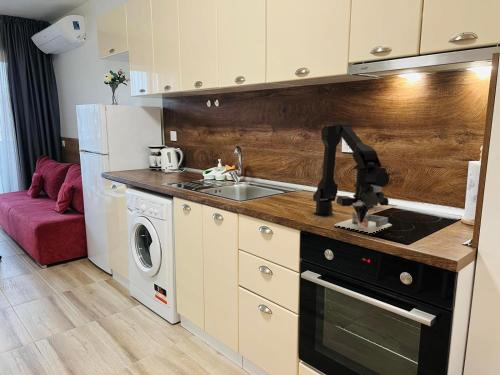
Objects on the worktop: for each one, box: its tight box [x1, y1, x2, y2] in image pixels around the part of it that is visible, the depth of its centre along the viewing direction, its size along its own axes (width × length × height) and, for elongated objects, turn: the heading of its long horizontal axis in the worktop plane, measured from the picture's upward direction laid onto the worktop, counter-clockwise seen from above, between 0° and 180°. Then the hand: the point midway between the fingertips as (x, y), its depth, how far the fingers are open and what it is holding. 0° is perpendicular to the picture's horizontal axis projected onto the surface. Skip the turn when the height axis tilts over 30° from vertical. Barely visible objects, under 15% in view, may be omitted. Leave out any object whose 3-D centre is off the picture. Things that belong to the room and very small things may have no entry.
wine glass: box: [368, 185, 383, 211], centre depth 177 cm, size 8×8×15 cm
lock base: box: [334, 213, 393, 234], centre depth 148 cm, size 16×17×3 cm
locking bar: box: [351, 211, 368, 228], centre depth 144 cm, size 12×2×4 cm, turn 7°
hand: (360, 222), depth 140 cm, fingers closed
